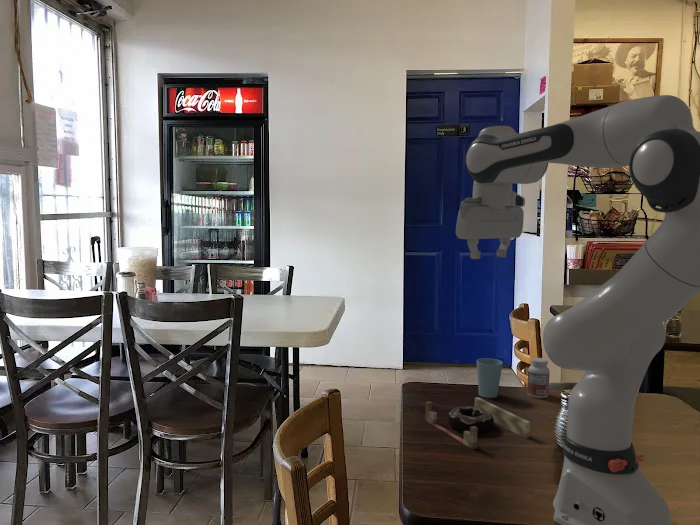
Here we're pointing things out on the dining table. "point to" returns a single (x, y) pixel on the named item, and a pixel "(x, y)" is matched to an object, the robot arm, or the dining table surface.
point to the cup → (488, 376)
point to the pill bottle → (538, 378)
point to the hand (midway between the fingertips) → (488, 257)
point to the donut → (470, 419)
